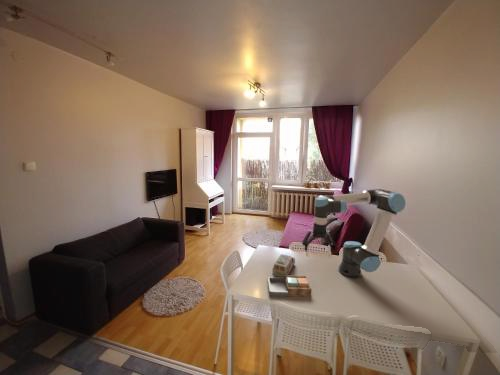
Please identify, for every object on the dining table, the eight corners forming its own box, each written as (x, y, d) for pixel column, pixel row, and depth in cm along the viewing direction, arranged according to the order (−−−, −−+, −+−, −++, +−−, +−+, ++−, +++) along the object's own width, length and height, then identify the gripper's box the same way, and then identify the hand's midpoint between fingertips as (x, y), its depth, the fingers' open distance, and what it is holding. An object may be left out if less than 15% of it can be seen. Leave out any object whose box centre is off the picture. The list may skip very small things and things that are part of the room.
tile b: (295, 280, 145) (296, 277, 145) (297, 286, 139) (298, 283, 139) (286, 280, 145) (286, 277, 145) (288, 285, 139) (288, 282, 139)
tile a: (306, 280, 145) (306, 278, 145) (308, 286, 139) (308, 283, 139) (296, 280, 145) (296, 277, 145) (298, 286, 139) (298, 283, 139)
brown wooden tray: (305, 282, 150) (305, 276, 149) (310, 296, 136) (311, 288, 135) (284, 282, 150) (284, 275, 149) (287, 295, 136) (288, 288, 135)
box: (284, 281, 151) (284, 277, 150) (288, 296, 135) (288, 292, 134) (267, 280, 151) (267, 276, 150) (269, 296, 135) (269, 291, 134)
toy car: (295, 264, 173) (296, 252, 172) (286, 281, 151) (287, 267, 150) (282, 261, 178) (282, 249, 176) (271, 277, 156) (272, 263, 154)
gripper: (338, 221, 140) (335, 253, 144) (298, 220, 140) (296, 252, 143) (343, 225, 133) (340, 258, 136) (301, 224, 132) (299, 258, 136)
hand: (317, 255), depth 140 cm, fingers open, 13 cm apart
